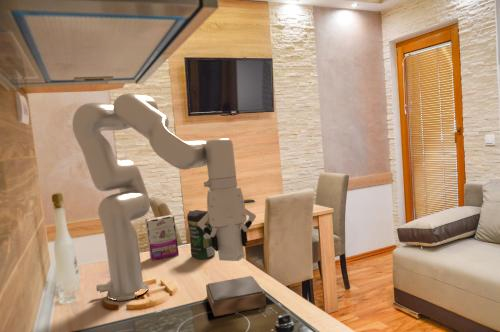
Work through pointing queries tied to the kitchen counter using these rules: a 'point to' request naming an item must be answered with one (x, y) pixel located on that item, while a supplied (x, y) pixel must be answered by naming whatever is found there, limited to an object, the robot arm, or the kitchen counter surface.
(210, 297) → the walnut plinth
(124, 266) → the robot arm
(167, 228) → the candy bar box
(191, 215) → the coffee jar
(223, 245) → the skincare box
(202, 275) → the kitchen counter surface
